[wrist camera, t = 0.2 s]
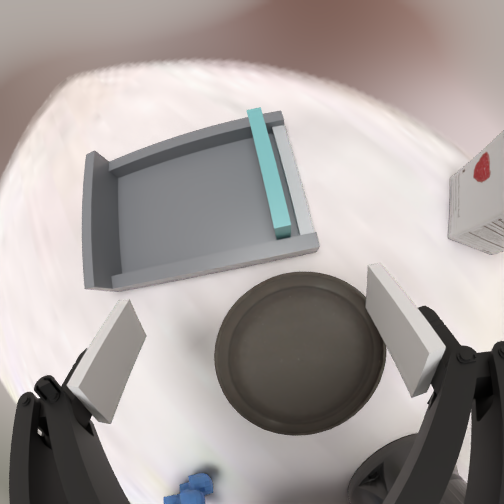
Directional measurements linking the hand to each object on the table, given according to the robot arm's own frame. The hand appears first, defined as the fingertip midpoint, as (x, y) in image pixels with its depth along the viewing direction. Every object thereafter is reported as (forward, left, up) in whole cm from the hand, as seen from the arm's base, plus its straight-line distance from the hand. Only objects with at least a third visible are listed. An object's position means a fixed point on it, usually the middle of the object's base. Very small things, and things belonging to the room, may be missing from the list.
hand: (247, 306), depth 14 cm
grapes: (-25, +14, -16) cm, 32 cm away
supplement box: (+4, -29, -16) cm, 34 cm away
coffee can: (-4, -2, -16) cm, 16 cm away
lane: (+13, +6, -15) cm, 21 cm away
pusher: (+13, -3, -15) cm, 20 cm away
